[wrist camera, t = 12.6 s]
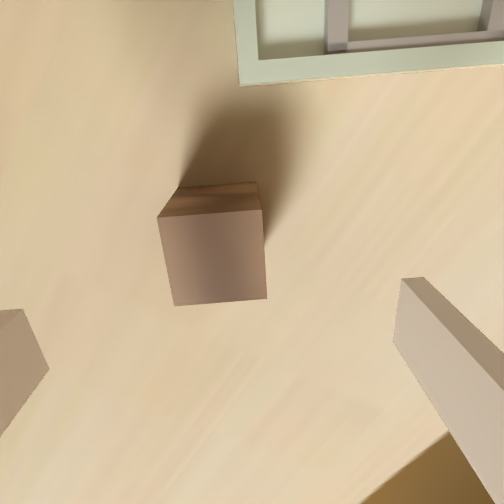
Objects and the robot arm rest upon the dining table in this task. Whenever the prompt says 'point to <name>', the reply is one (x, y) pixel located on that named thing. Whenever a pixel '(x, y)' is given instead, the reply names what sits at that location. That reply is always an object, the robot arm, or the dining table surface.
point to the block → (214, 244)
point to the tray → (363, 38)
